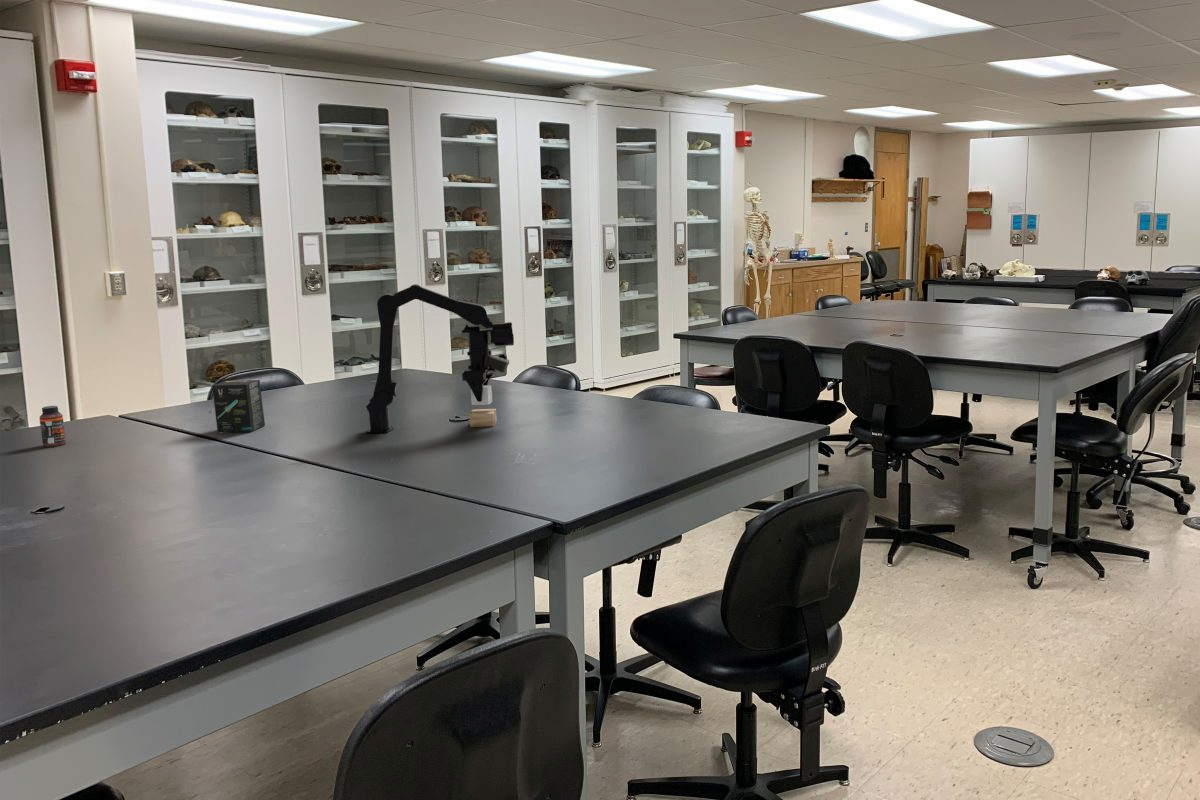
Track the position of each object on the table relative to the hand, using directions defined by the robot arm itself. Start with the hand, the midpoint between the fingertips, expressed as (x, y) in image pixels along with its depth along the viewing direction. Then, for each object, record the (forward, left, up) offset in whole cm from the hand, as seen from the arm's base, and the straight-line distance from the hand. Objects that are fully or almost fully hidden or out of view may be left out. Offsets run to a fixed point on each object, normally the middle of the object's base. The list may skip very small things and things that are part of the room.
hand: (481, 399), depth 285 cm
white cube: (0, 0, -1) cm, 1 cm away
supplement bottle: (-21, +122, -7) cm, 124 cm away
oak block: (0, 0, -8) cm, 8 cm away
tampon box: (-3, +74, -8) cm, 74 cm away
